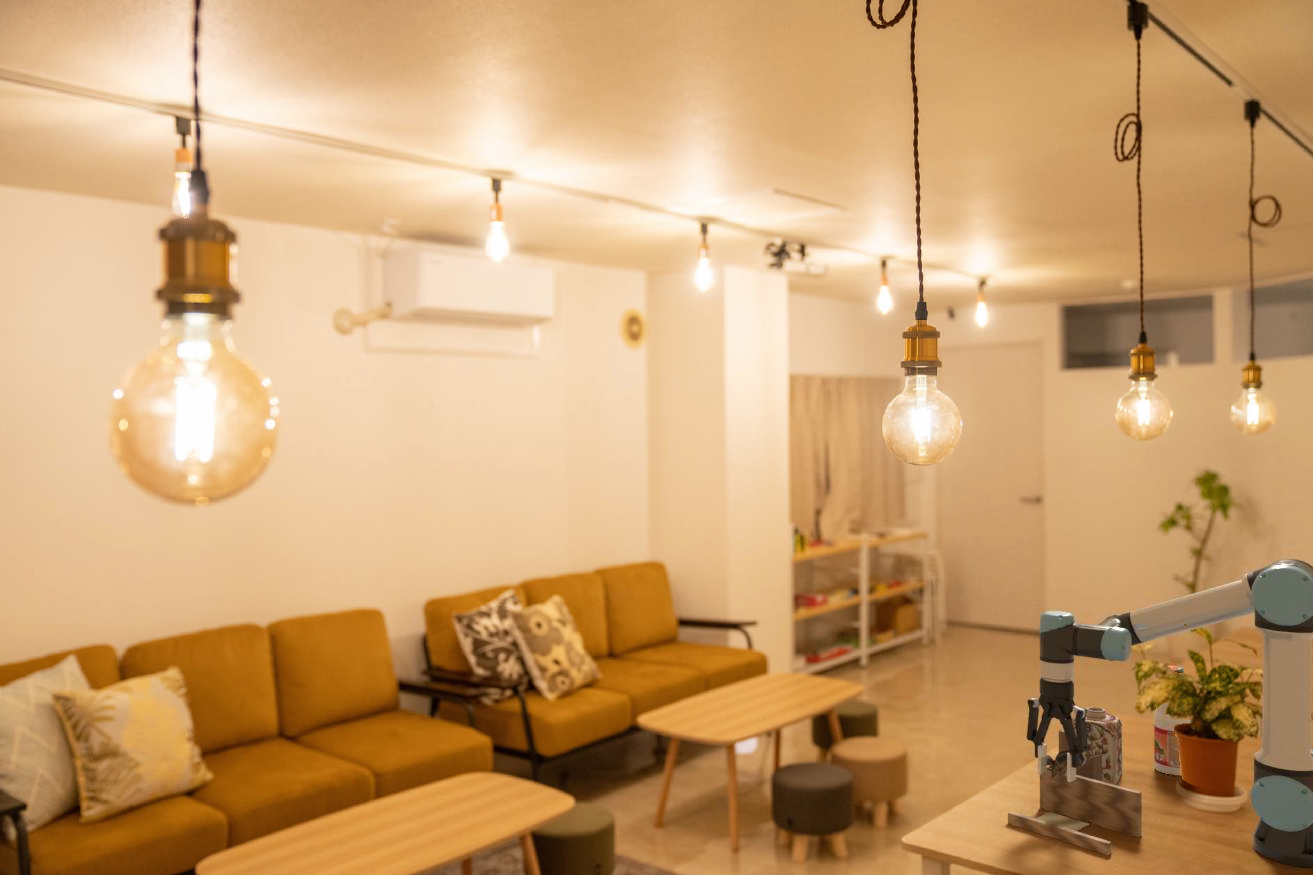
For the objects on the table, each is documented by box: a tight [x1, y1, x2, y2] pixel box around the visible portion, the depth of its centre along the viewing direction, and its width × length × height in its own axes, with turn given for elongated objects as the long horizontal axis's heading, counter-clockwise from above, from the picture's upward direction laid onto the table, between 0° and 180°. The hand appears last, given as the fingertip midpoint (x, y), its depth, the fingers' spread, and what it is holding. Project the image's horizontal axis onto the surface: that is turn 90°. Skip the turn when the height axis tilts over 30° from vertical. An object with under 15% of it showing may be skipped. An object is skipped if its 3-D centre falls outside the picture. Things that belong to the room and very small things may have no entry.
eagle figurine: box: [1041, 750, 1085, 779], centre depth 241 cm, size 8×7×9 cm
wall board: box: [1007, 766, 1143, 856], centre depth 237 cm, size 24×16×10 cm, turn 40°
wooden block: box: [1058, 728, 1102, 781], centre depth 251 cm, size 4×11×18 cm, turn 32°
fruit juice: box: [1153, 665, 1190, 775], centre depth 276 cm, size 9×9×28 cm
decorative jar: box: [1072, 706, 1123, 785], centre depth 273 cm, size 12×12×18 cm
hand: (1056, 776), depth 240 cm, fingers closed on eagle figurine, 6 cm apart
